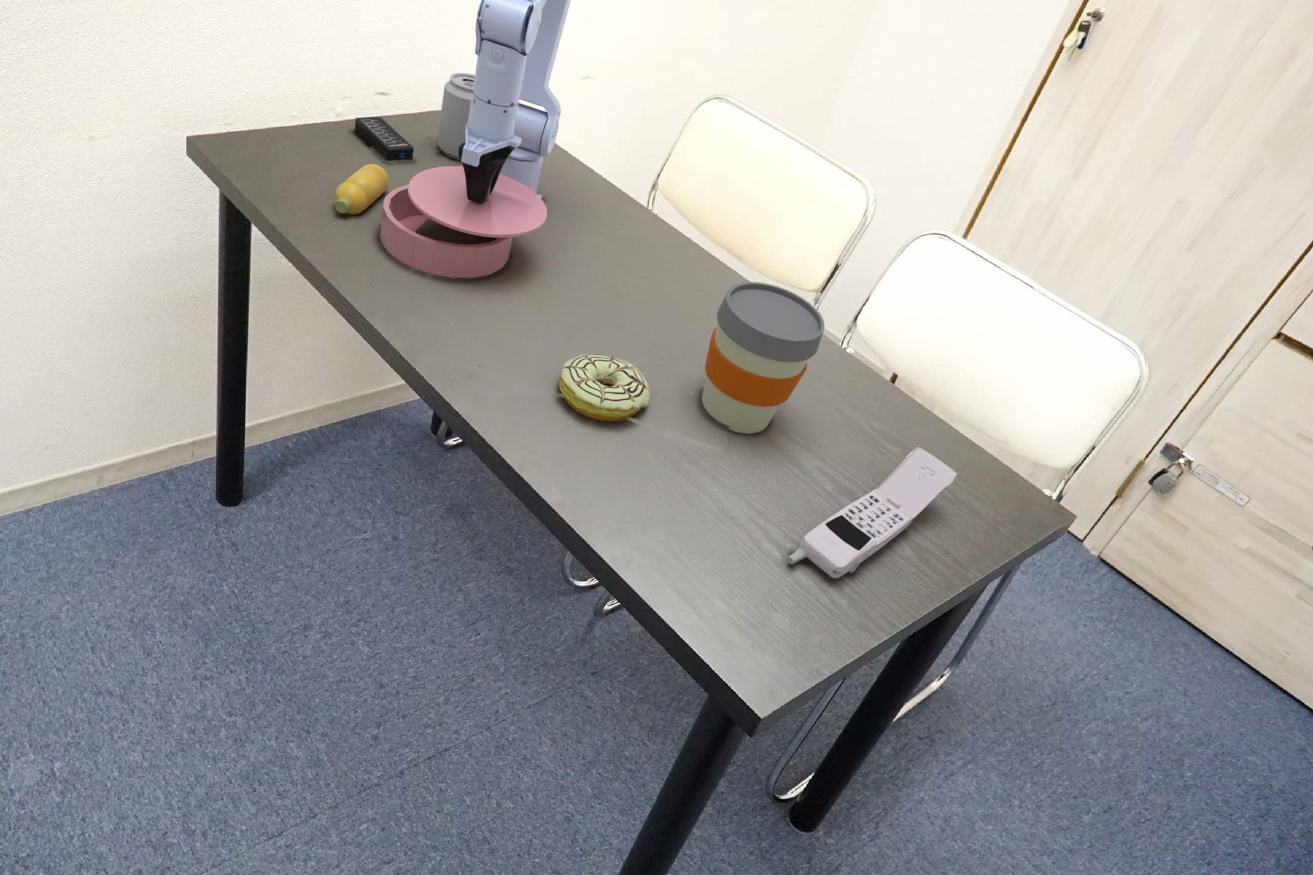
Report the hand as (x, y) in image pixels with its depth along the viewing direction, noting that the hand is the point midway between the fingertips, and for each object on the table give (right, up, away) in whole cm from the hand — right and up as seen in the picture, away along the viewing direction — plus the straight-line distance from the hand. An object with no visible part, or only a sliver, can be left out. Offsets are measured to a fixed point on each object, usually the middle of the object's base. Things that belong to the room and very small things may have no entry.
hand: (479, 196), depth 126 cm
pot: (-6, -6, +5) cm, 10 cm away
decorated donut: (+17, -27, -12) cm, 34 cm away
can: (-9, +14, +29) cm, 34 cm away
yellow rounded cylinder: (-19, +1, +8) cm, 20 cm away
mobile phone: (+47, -43, -18) cm, 66 cm away
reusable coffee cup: (+33, -28, -6) cm, 44 cm away
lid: (0, -1, +1) cm, 1 cm away
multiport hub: (-19, +14, +24) cm, 33 cm away
